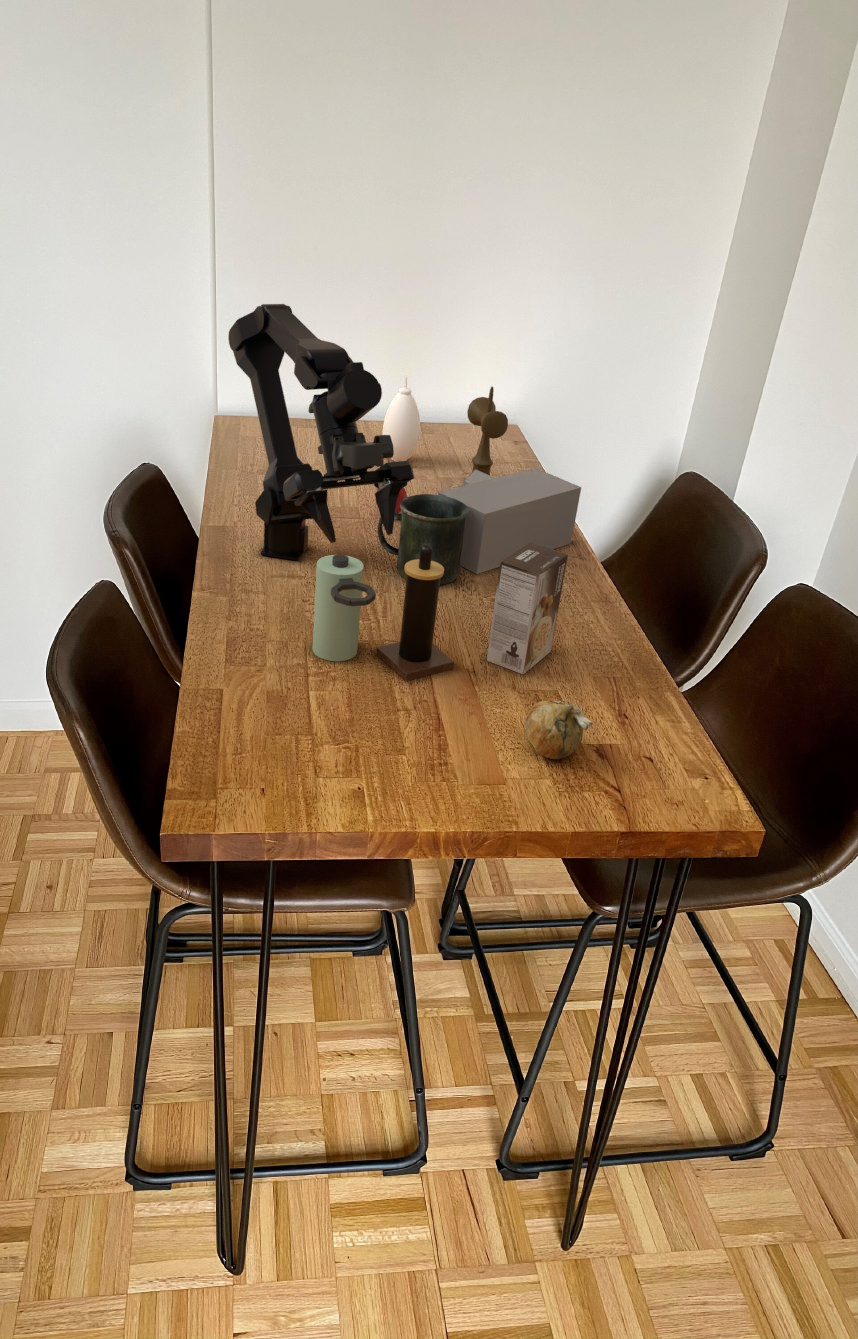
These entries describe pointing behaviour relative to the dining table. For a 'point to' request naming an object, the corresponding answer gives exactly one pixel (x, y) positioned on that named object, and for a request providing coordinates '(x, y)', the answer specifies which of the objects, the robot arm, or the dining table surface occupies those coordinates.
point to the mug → (430, 532)
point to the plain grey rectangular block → (513, 515)
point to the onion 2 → (555, 728)
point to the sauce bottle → (403, 424)
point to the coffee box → (526, 607)
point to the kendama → (486, 429)
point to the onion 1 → (399, 499)
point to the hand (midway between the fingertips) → (362, 538)
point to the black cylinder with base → (418, 622)
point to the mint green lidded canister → (338, 606)
